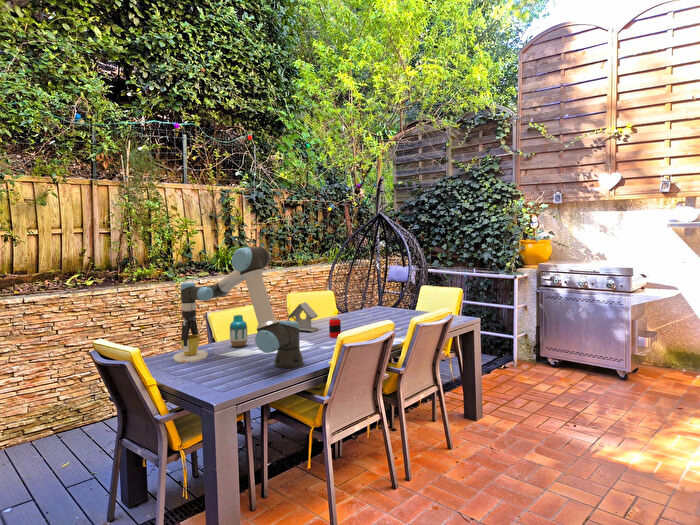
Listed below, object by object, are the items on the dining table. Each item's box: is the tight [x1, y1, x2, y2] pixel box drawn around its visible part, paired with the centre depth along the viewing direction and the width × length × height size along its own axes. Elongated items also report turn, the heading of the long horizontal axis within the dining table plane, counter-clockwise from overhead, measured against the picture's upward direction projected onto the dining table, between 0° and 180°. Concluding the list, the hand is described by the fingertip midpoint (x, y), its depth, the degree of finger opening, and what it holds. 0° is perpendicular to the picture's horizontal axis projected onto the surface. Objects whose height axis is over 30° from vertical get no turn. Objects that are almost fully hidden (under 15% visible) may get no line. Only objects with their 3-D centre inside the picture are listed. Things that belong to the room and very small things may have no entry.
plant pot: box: [179, 334, 201, 355], centre depth 242 cm, size 10×10×10 cm
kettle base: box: [173, 349, 208, 364], centre depth 243 cm, size 18×18×2 cm
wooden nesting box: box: [287, 301, 319, 334], centre depth 306 cm, size 18×10×20 cm, turn 68°
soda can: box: [328, 317, 342, 339], centre depth 287 cm, size 8×8×12 cm
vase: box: [229, 314, 248, 348], centre depth 266 cm, size 11×11×19 cm
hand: (190, 348), depth 243 cm, fingers closed on plant pot, 10 cm apart
